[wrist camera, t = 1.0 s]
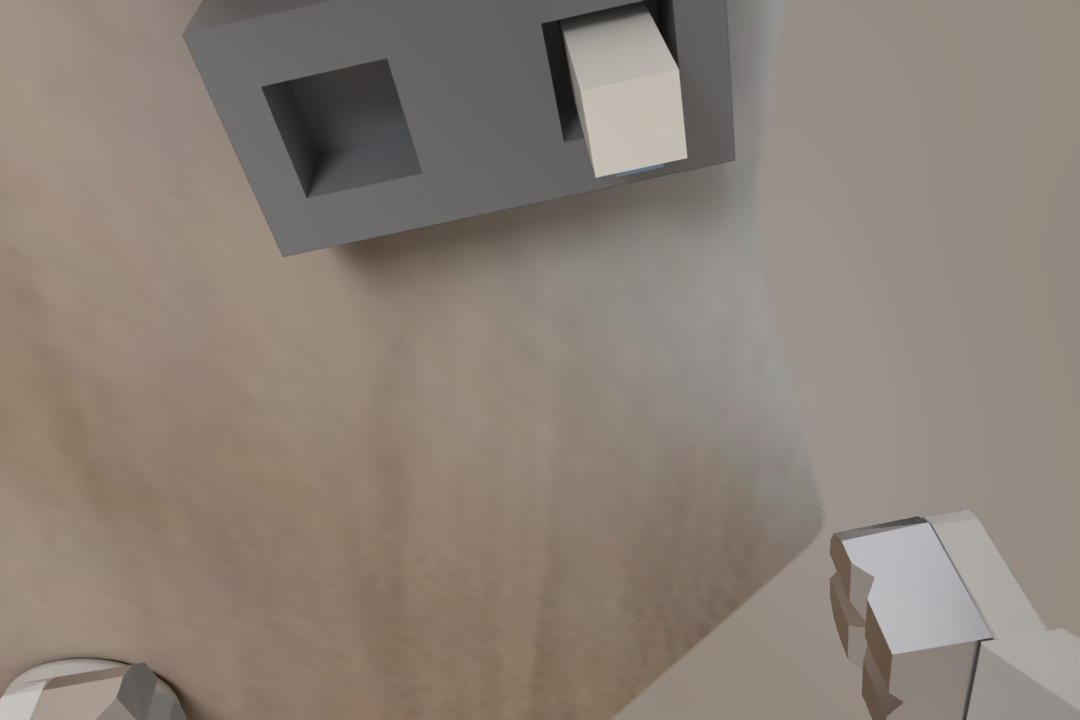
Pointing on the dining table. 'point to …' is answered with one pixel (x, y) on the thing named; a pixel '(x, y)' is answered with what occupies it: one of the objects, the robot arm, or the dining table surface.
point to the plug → (624, 89)
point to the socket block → (427, 106)
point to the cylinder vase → (77, 667)
